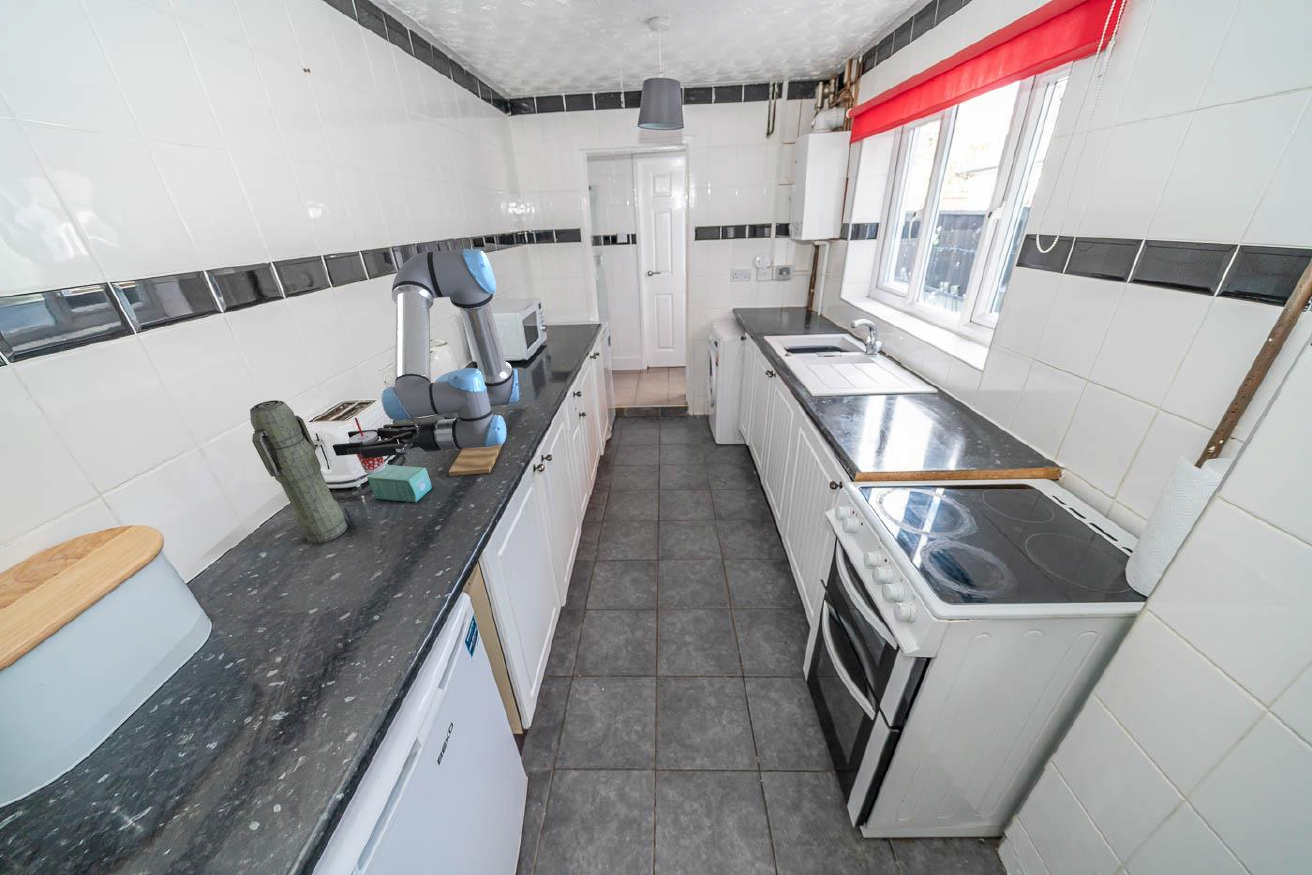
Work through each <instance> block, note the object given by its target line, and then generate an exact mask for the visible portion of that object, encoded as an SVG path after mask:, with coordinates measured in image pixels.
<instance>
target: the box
mask: <svg viewBox="0 0 1312 875" xmlns="http://www.w3.org/2000/svg"><path fill="white" fill-rule="evenodd" d="M366 479H367V481H368V483H369V486H370V488H371V492H372V494H373V498H374V499H376V500H387V501H395V502H397V501H398V502H408V503H409V502H410V503H417V502H418V501H419V500H420V499H422V498H423V497H424V496H425V495H426V494H427V493H429V491H431V490H432V482H431V478H430V476H429V472H428V470H427V468H426V467H422V466H407V465H397V464H396V465H395V464H385V468H384V469H383V470H381V471H379V472H376V473H371V474H369V475H368V476H367V478H366Z"/></svg>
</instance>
